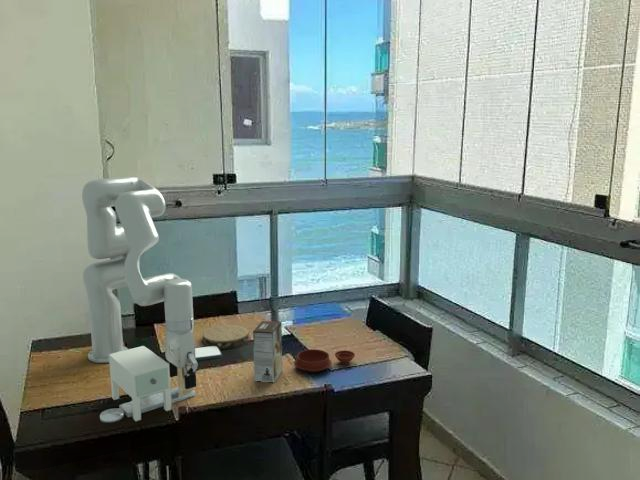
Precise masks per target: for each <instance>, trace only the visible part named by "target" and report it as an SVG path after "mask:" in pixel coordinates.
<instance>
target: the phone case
mask: <svg viewBox="0 0 640 480" xmlns="http://www.w3.org/2000/svg"><path fill="white" fill-rule="evenodd" d="M195 356H196V361H197V362H198V361H206V360H207V361H208V360H213V359H219V358H222V357H223V353H222V351H221V348H218V346H204V347H203V346H202V347H195Z"/></svg>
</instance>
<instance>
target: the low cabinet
mask: <svg viewBox="0 0 640 480" xmlns="http://www.w3.org/2000/svg"><path fill="white" fill-rule="evenodd" d="M108 363H109V364H108V365H109V375H110V388H111V398H112V399H113V401H115V400H118V399H119V400H120V390H119V389H120V388H121V389H122V390H123V391H124V392H125V393H126V394H127V395H128V396H129V397H130V398H131V401H132V408H133V416H132V420H134V421H135V422H138V421H141V420H142V413H141V409H140V398H144V397H147V396H150V395H153V394H156V393H160V392H163V401H164V406H163V410H165V411H166V412H168V411H171V410H172V409H173V407H172V404H171V389H172V388H171V377H170V370H169V364H170V363H168V361H165V360H164V359H163V358H162V357H160V356H158V355H157V354H156V353H154V352H153V351H152V350H151V349H149V348H148V347H146V346H145V345H141V346H138V347H134V348H128V350H124V351H120V352H116V353H113V354H109V362H108Z"/></svg>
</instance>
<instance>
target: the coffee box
mask: <svg viewBox="0 0 640 480" xmlns="http://www.w3.org/2000/svg"><path fill="white" fill-rule="evenodd" d="M282 331H283V329H282V321H269V320H268V321H266V320H262V321H261V322H260V323H259V324H257V326H256V327H255V328H254V330H253V332H252V333H253V336H252V337H253V366H254V367H253V370H254V371H253V372H254V382H257V381H261V382H260V383H268V382H273V383H272V384H274V383H275V382H277V379H278V377H280V374H281V373H282V372H283V340H282V339H283V337H282Z"/></svg>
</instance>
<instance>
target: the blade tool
mask: <svg viewBox="0 0 640 480" xmlns="http://www.w3.org/2000/svg"><path fill="white" fill-rule="evenodd" d="M186 364H189V362H187V363H186ZM190 368H191V366H189V367H187V369H188V371H189V369H190ZM177 373H178V375H177V386H176V387H173V388H170V389H171V405H172V404H175V403H178V402H180V401H185V400H187V399H190V398H192V396H193V397H196V396H195V395H196V391H195V390H194V387H193V388H190V389H185V380H184V375H186V374H185V371H184V369H183V367H182V368H178V367H177ZM189 397H190V398H189ZM177 401H178V402H177ZM118 406H119V409H122V410H123V411H124V416H126V417H127V418H133V408H132V400H130V401H129V402H124V403H121V404H119V405H118ZM162 407H163V408H164V401H163V391H162V392H158V393H155V394H152V395H149V396H145V397H142V398H140V409H141V414H145V413H146V412H150V411H152V410H157V409H160V408H162Z"/></svg>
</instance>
